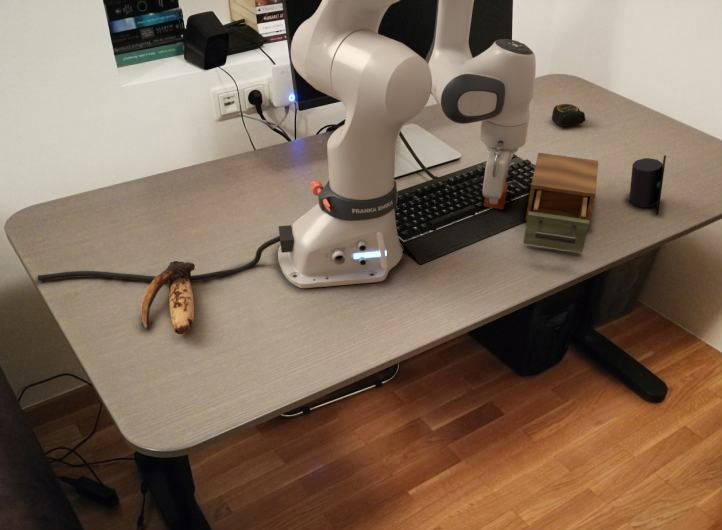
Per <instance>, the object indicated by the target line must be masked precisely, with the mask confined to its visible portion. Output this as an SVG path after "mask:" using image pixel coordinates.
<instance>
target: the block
mask: <svg viewBox="0 0 722 530" xmlns="http://www.w3.org/2000/svg"><path fill="white" fill-rule="evenodd" d="M508 188H509V182H507V181H506V182H505V185H504V189H503V192H502V196H501V198H500V199H499V201H498V204H490V203H485V202H484V203H483V207H484V208H490V209H491V208H492V209H495V210H496V209H497V210H504V208H505V205H506V202H507V196H508ZM506 195H507V196H506ZM505 199H506V200H505ZM485 200H486V201H488V202H489V198H487V197H484V201H485Z"/></svg>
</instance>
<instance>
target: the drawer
mask: <svg viewBox="0 0 722 530" xmlns="http://www.w3.org/2000/svg"><path fill="white" fill-rule="evenodd" d="M587 198H588V196H582V195H575V194H568V193H561V192H554V191H547V190H540V189H537V194H536V199H535V204H534V209H533V212H531V211H529V213H528V219H527V221H526V224H525V225H526V226H525V232H524V238H523V244H525V245H531V246H536V247H537V246H538V247H543V248H548V249H549V248H550V249H556V250H563V251H569V252H575V253H583V252H584V247H585V244H586V243H585V242H586V238H587V234H588V230H589V226H590V220H585V218H586V209H587Z"/></svg>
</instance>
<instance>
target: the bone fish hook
mask: <svg viewBox="0 0 722 530" xmlns="http://www.w3.org/2000/svg"><path fill="white" fill-rule="evenodd" d="M195 268H196V265H195V263H193V262H189V261H187V262H184V261H177V260H175V261H174V260H173V261H170V262H169V265H168V266H167V268H166V269H164V270H163V271H162V272H160V273H159V274H158V275H157V277H156V278H155V279H154V280H153V281H150V283H149V284H148V286H147V288H146V290H145V292H144V294H143V297H142V300H141V303H140V319H141V322H142V324H143V326H144V329H145V330H148V328H149V323H150V311H151V307H152V305H153V303H154V301H155V299H156V296H157V295H158V293H159V292H160V290H161V289H162V288H163V286H164V285H165V284H167V283H168V293H169V295H168V301H169V305H168V309H169V312H170V320H171V323H172V327H173V329H174V333H175V334H177V335H185V334H186V333H188V332H189V330H190V328H191V327H192V325H193V324H194V319H195V318H194V315H195V309H194V307H195V306H194V304H195V303H194V302H195V300H194V299H195V298H194V294H193V288H192V285H191V281H189V277H190V276H192V274H191V273H192V271H195Z"/></svg>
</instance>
